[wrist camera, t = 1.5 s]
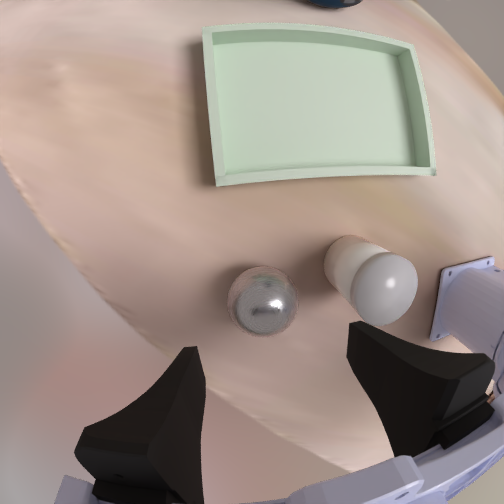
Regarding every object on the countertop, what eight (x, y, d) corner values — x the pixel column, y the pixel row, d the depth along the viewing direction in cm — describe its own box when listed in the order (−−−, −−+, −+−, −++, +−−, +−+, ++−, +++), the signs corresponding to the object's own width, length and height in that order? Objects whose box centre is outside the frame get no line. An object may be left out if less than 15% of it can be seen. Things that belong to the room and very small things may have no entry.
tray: (399, 52, 16) (413, 44, 13) (419, 174, 18) (436, 175, 16) (204, 41, 15) (201, 27, 13) (217, 186, 18) (216, 186, 16)
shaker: (373, 231, 19) (420, 252, 14) (372, 284, 21) (412, 317, 15) (321, 237, 19) (358, 262, 13) (323, 292, 20) (355, 332, 15)
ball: (288, 253, 19) (305, 275, 15) (291, 311, 20) (307, 344, 16) (222, 261, 19) (221, 287, 15) (231, 319, 20) (232, 355, 16)
